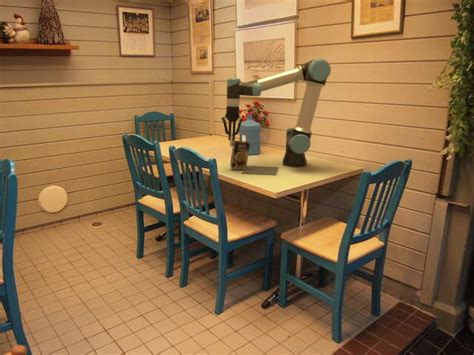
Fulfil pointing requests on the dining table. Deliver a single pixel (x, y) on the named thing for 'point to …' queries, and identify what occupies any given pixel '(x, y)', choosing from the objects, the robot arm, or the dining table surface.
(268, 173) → the mat
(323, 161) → the dining table surface
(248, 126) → the water jug
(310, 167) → the dining table surface
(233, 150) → the coffee box
